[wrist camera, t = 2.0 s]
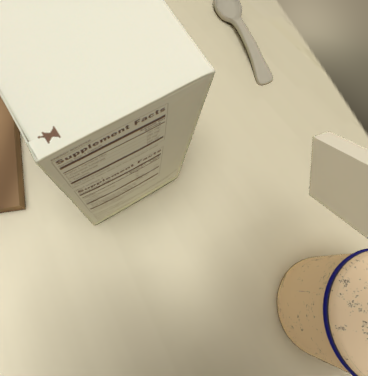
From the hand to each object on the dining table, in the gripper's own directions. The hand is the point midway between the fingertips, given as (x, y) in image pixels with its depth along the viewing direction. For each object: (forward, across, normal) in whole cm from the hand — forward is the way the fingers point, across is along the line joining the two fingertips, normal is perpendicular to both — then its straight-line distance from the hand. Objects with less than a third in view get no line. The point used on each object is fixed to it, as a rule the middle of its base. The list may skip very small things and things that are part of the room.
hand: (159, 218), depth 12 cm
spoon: (+26, +17, 0) cm, 31 cm away
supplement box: (+19, 0, -6) cm, 20 cm away
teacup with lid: (+6, +15, -20) cm, 25 cm away
